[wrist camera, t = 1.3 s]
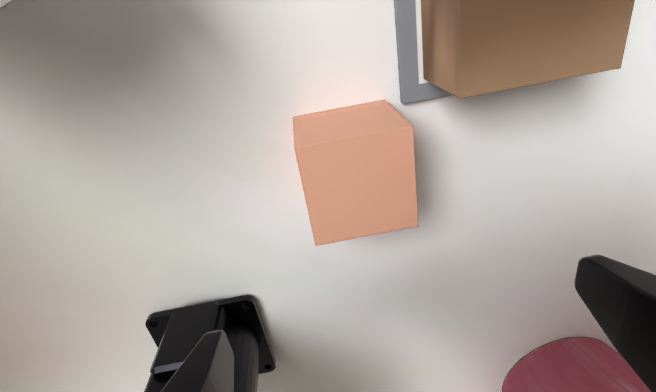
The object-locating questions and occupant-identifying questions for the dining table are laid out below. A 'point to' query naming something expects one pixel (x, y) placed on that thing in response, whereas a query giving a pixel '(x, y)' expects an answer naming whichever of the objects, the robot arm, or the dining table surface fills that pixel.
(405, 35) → the gray square frame
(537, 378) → the plant pot
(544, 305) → the dining table surface
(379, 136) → the cube
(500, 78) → the base block
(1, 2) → the mug
